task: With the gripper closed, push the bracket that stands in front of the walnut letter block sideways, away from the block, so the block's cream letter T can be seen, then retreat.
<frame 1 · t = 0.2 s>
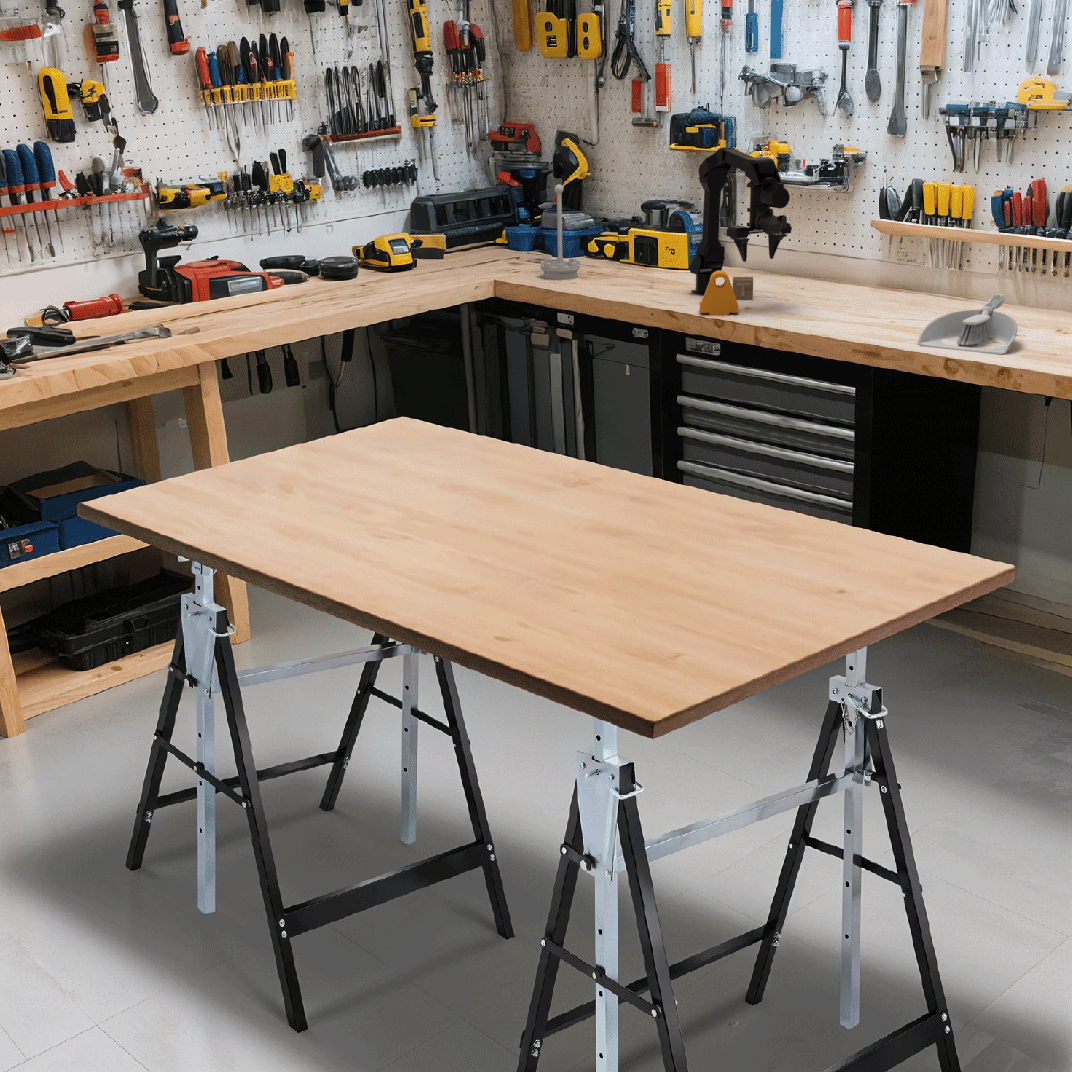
hand: (758, 260, 391), 14 cm above the table, fingers open, 9 cm apart
bracket: (718, 313, 391), on the table
flag stand: (560, 277, 452), on the table
letter block: (742, 298, 411), on the table
dustpan and brush: (979, 339, 353), on the table
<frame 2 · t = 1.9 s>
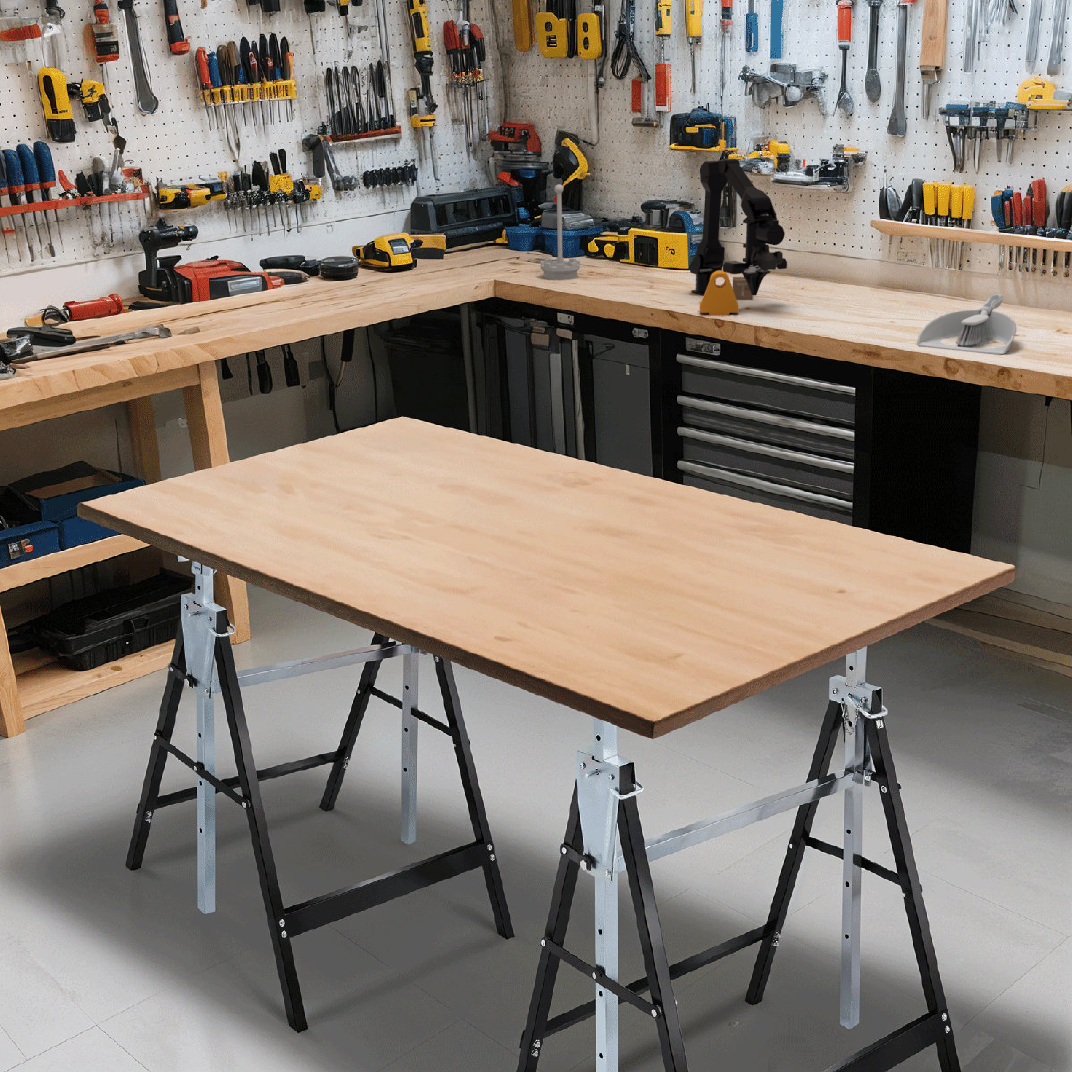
hand: (754, 295, 394), 4 cm above the table, fingers closed
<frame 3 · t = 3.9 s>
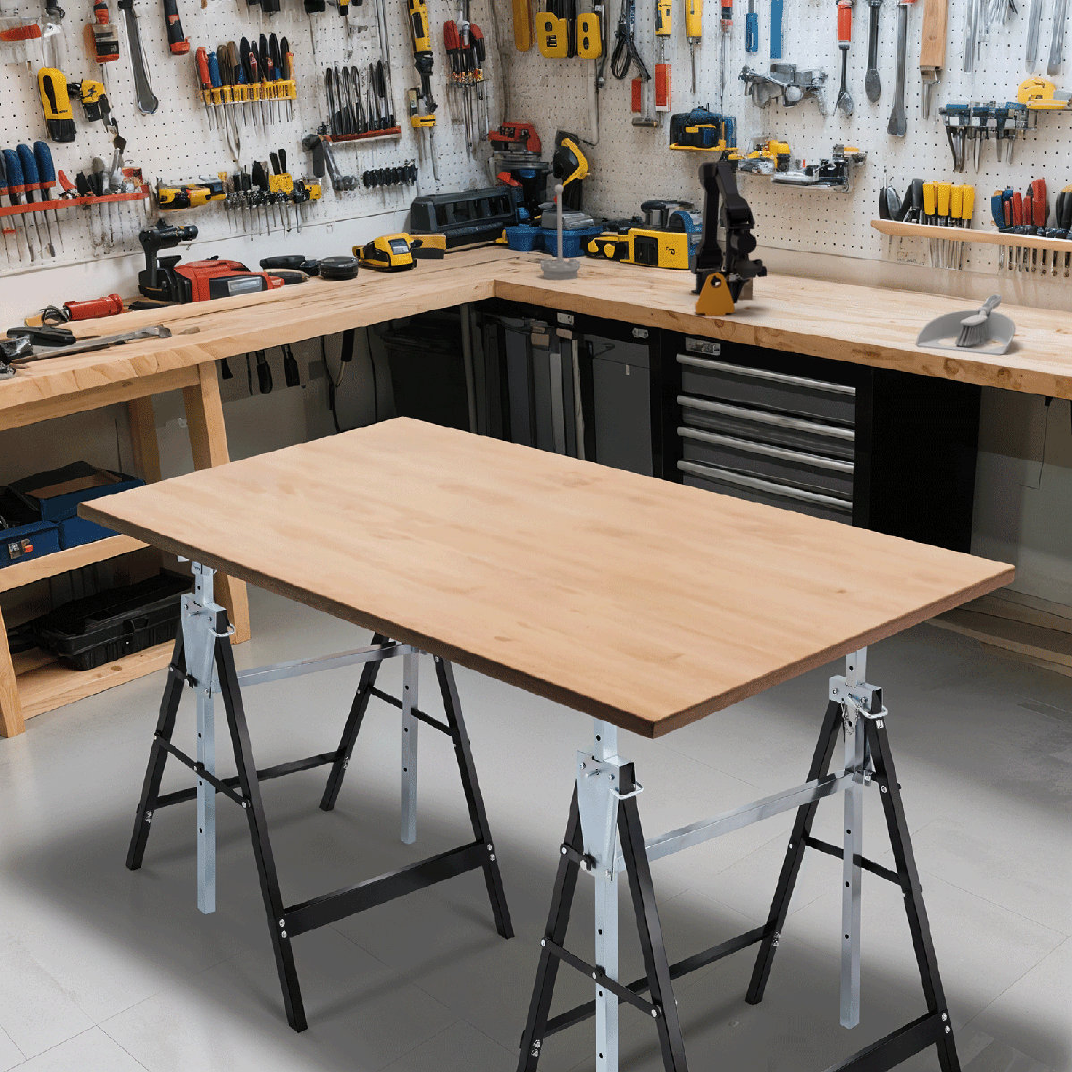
hand: (734, 303, 392), 2 cm above the table, fingers closed
bracket: (714, 313, 390), on the table, touching gripper
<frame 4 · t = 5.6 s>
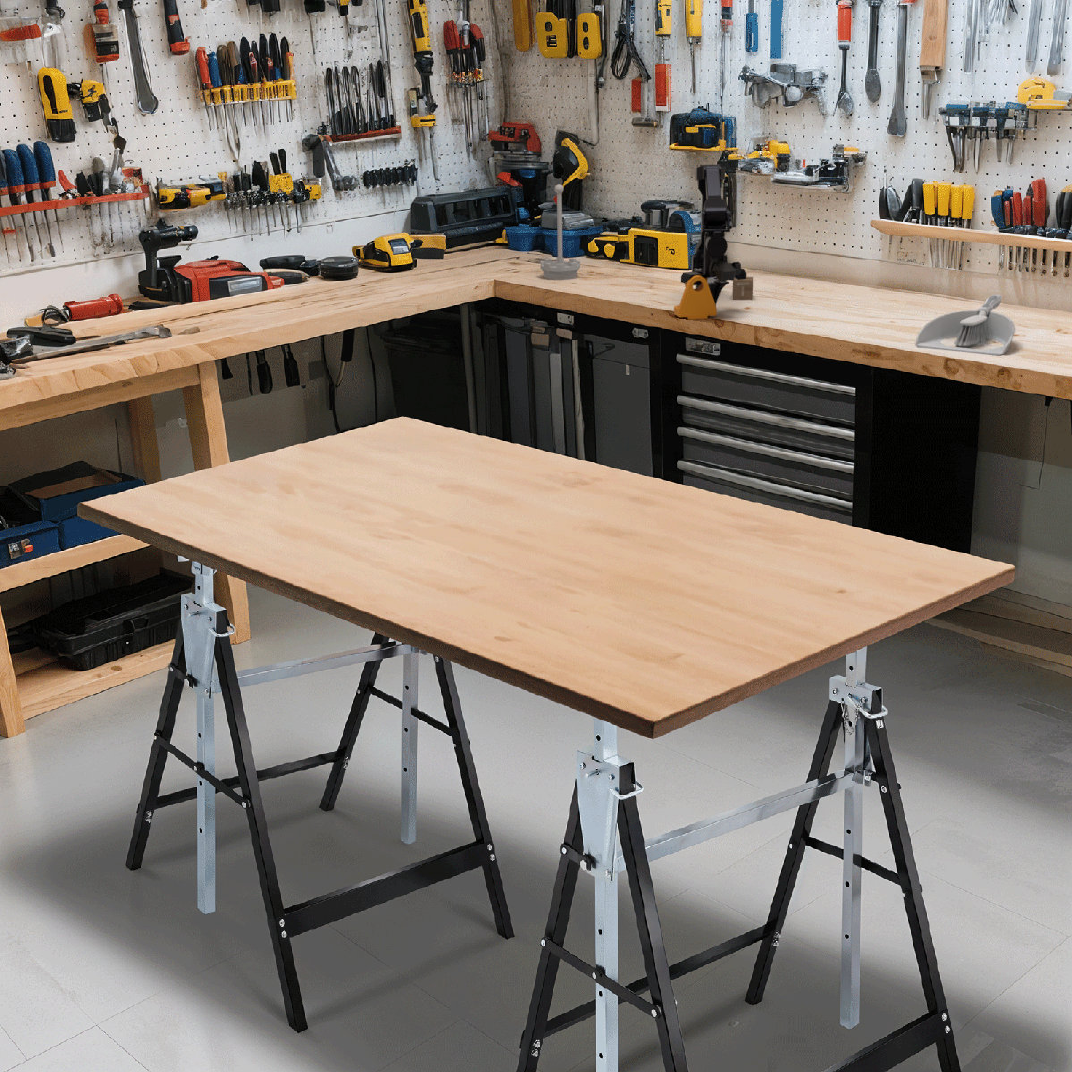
hand: (713, 306, 389), 2 cm above the table, fingers closed
bracket: (694, 317, 387), on the table
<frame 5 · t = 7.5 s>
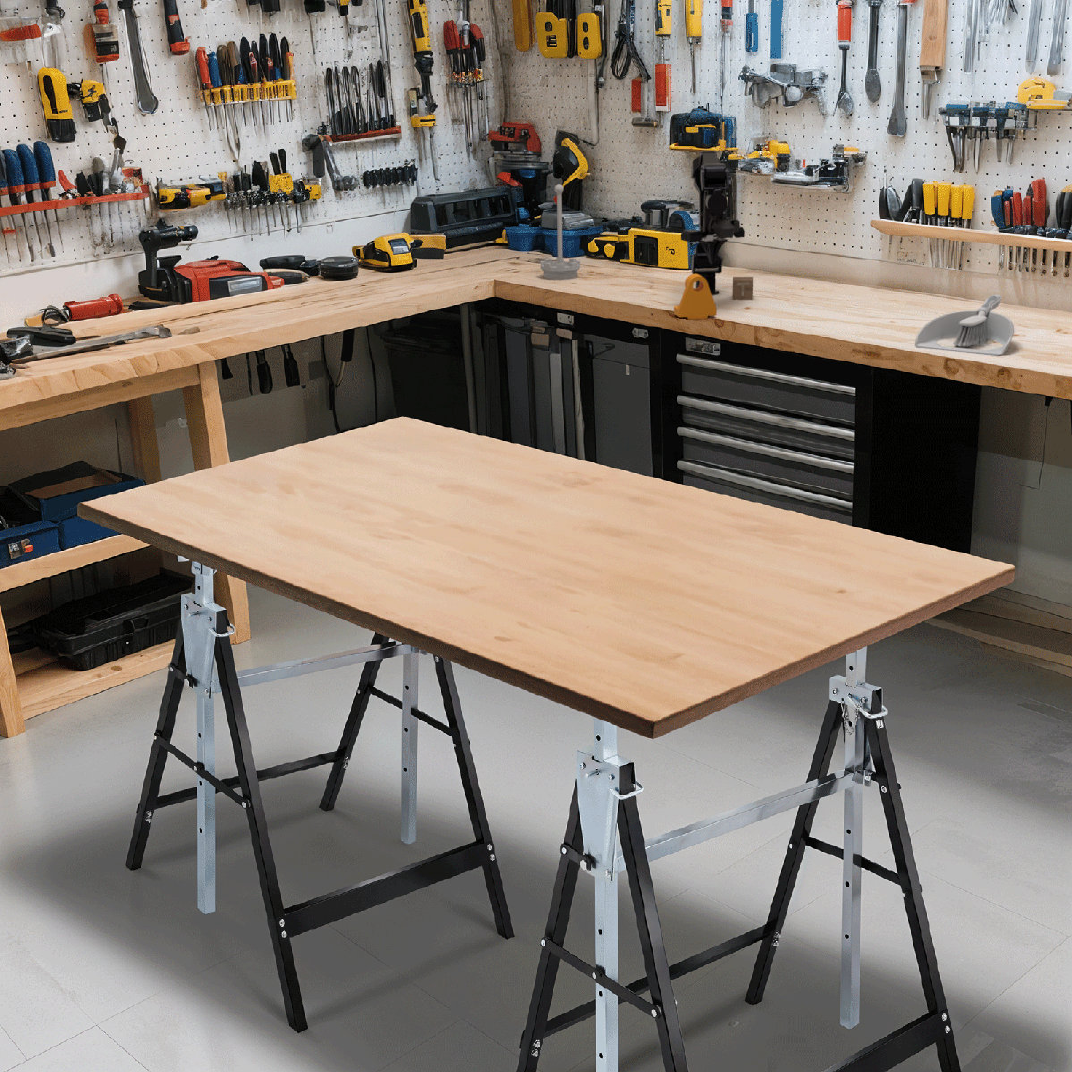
hand: (712, 263, 399), 12 cm above the table, fingers closed
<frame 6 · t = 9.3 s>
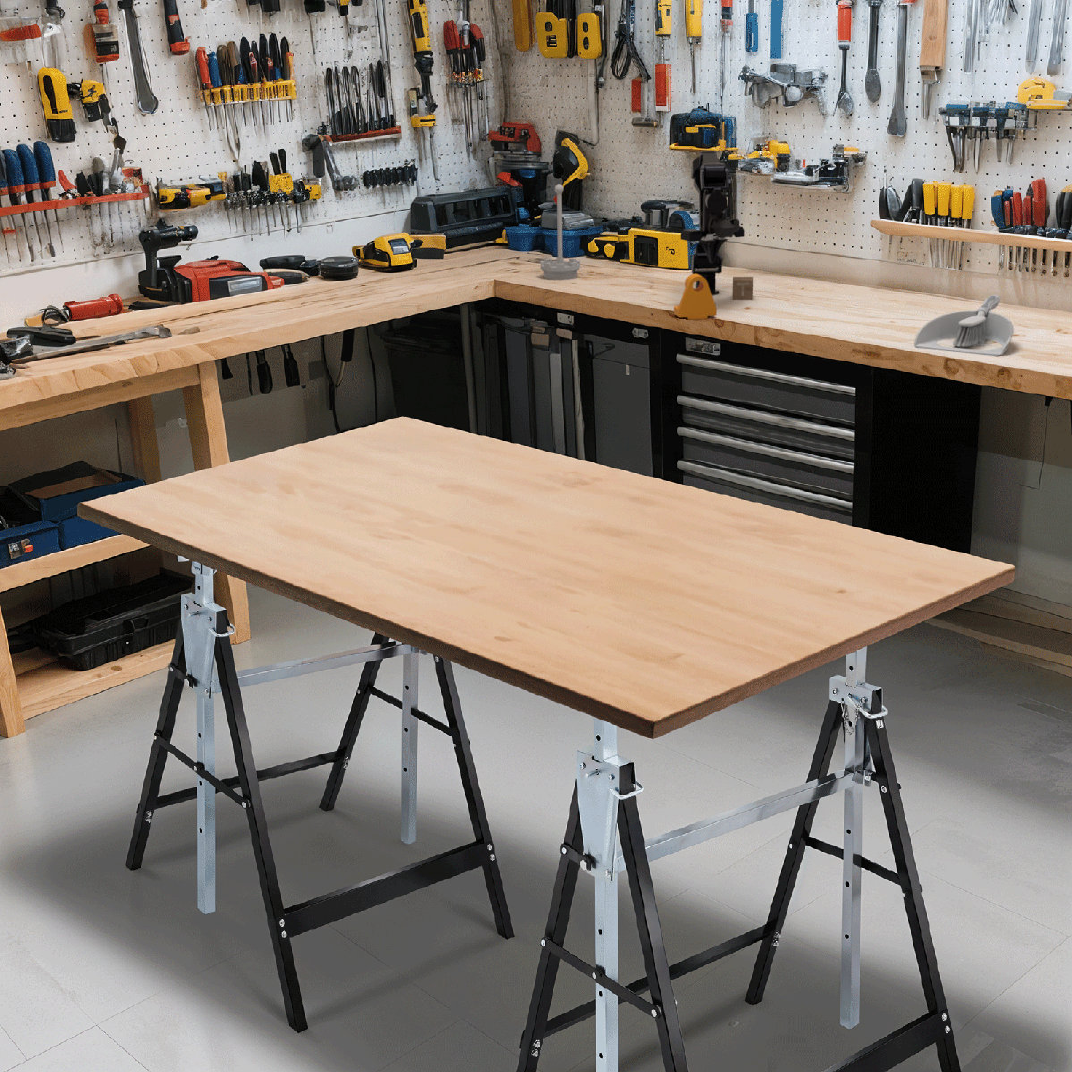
hand: (712, 263, 399), 12 cm above the table, fingers closed
at the end: bracket inside the target area (1.0 cm from its centre), on the table; bracket tilted 0°; letter block moved 0.1 cm from its start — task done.
